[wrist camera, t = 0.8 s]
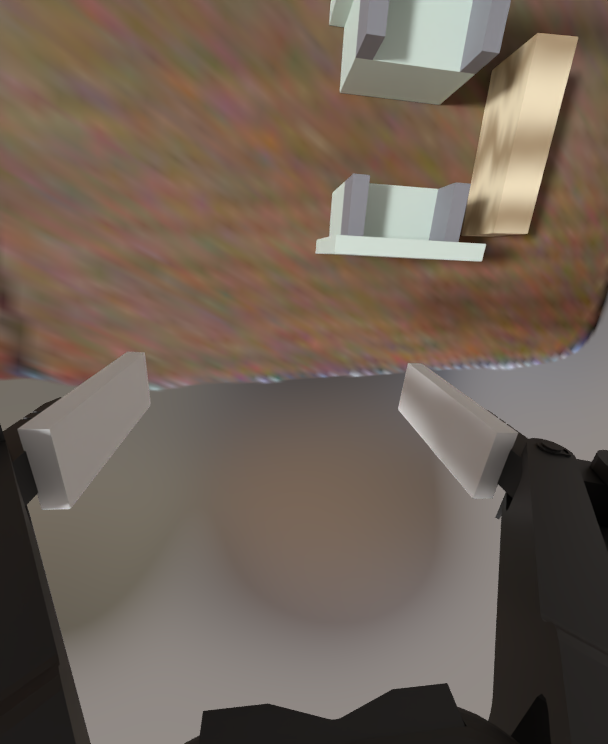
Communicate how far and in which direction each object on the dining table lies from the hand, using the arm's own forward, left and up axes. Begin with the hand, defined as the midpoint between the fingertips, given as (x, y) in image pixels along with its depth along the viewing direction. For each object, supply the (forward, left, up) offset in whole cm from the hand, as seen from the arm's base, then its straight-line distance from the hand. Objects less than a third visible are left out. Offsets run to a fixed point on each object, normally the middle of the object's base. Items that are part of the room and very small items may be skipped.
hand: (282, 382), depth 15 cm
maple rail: (-17, +25, -25) cm, 39 cm away
